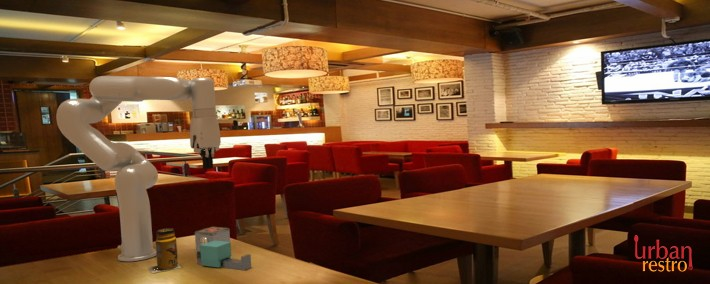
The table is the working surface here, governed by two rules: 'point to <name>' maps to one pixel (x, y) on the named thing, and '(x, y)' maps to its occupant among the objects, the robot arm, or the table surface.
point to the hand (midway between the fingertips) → (208, 168)
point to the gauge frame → (211, 236)
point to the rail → (232, 262)
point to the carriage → (215, 252)
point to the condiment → (166, 251)
